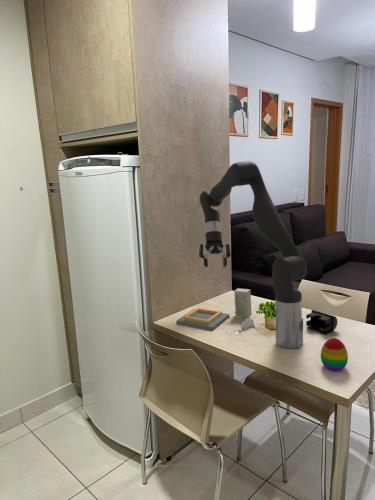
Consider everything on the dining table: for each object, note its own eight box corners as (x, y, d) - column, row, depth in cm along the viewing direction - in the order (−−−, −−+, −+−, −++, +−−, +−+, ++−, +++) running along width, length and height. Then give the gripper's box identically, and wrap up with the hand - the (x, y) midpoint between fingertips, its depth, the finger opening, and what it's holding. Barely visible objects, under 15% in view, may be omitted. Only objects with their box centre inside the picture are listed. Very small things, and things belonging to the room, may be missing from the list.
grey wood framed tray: (229, 317, 169) (229, 310, 169) (213, 330, 156) (212, 323, 155) (194, 311, 178) (194, 305, 178) (176, 323, 165) (176, 317, 164)
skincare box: (251, 315, 170) (251, 289, 168) (248, 318, 166) (247, 292, 164) (238, 313, 173) (238, 287, 171) (234, 316, 170) (234, 290, 167)
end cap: (337, 330, 150) (337, 314, 148) (326, 335, 146) (327, 319, 144) (315, 323, 158) (316, 308, 156) (305, 328, 154) (305, 312, 152)
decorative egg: (326, 358, 128) (326, 331, 126) (351, 365, 123) (352, 337, 121) (316, 368, 122) (316, 339, 120) (342, 376, 117) (343, 346, 115)
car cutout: (248, 324, 162) (248, 314, 161) (259, 328, 156) (259, 318, 155) (220, 333, 154) (220, 323, 153) (231, 338, 148) (230, 328, 147)
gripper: (200, 230, 169) (202, 265, 166) (230, 230, 172) (233, 265, 169) (196, 234, 176) (198, 268, 173) (225, 234, 179) (228, 268, 176)
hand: (215, 266), depth 171 cm, fingers open, 8 cm apart
